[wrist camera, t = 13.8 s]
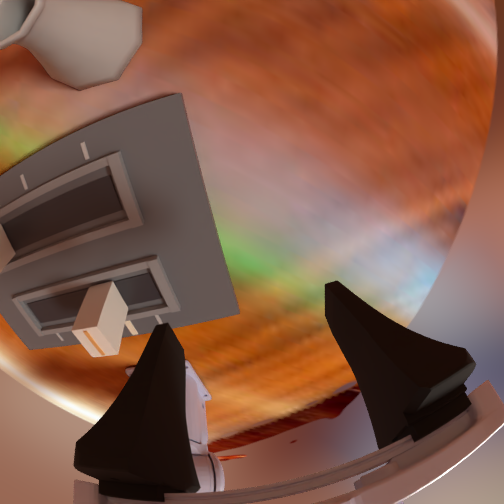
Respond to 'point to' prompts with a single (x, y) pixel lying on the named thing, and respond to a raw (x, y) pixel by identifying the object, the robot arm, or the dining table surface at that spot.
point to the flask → (74, 37)
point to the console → (113, 228)
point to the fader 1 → (5, 249)
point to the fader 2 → (101, 320)
